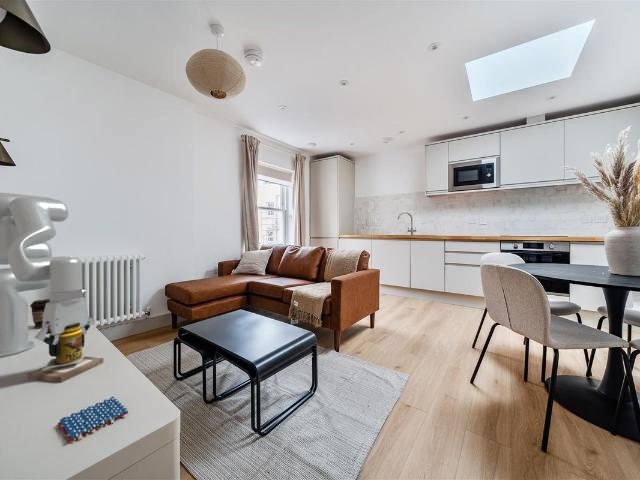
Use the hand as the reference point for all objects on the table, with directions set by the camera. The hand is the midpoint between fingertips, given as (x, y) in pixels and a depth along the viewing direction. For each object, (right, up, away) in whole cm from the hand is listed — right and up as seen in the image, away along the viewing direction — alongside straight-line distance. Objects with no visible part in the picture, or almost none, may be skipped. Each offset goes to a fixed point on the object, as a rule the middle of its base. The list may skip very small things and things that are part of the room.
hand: (67, 350), depth 82 cm
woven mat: (+29, -7, -23) cm, 38 cm away
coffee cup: (-53, -7, +41) cm, 67 cm away
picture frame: (0, -6, 0) cm, 6 cm away
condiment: (0, -3, 0) cm, 3 cm away
